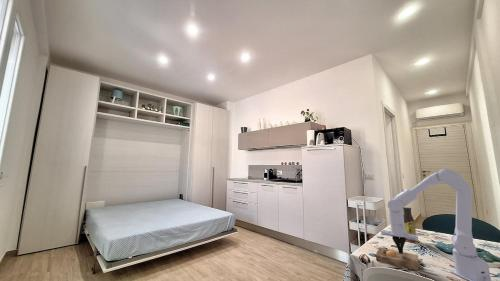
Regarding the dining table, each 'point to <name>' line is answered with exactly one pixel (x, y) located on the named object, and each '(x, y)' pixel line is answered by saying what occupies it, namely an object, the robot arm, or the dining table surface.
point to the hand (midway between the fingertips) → (401, 253)
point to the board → (398, 258)
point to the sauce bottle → (409, 223)
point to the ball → (390, 253)
